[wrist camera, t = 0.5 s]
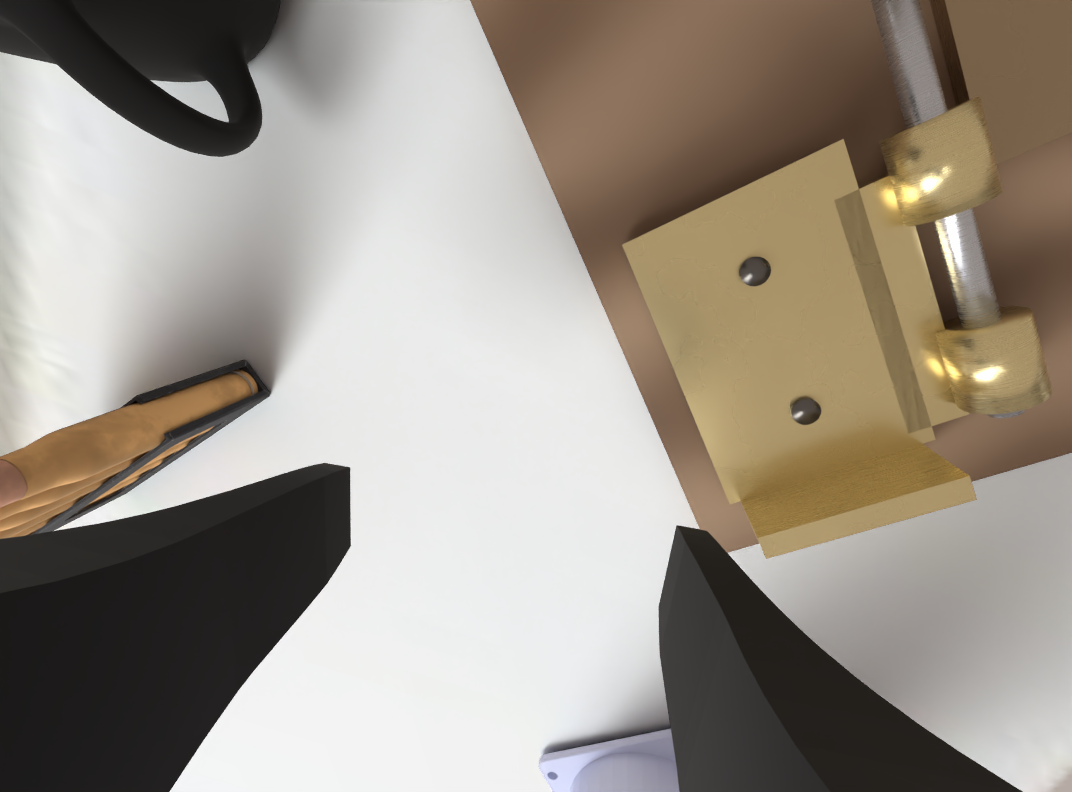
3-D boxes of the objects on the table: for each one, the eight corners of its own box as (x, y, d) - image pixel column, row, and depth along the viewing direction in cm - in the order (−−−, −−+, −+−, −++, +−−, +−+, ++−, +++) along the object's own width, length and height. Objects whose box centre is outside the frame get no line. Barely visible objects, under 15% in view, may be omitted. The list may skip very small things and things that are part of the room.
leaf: (572, 125, 16) (562, 101, 13) (903, -60, 14) (977, -138, 11) (734, 514, 19) (753, 562, 16) (1028, 422, 17) (1113, 461, 14)
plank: (1346, 356, 16) (1383, 362, 15) (708, 545, 21) (712, 557, 20) (1226, -728, 10) (1274, -804, 10) (422, -114, 16) (412, -132, 15)
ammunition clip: (246, 357, 22) (-159, 487, 10) (273, 393, 22) (-91, 556, 11) (99, 464, 25) (-337, 653, 14) (124, 494, 25) (-281, 704, 14)
